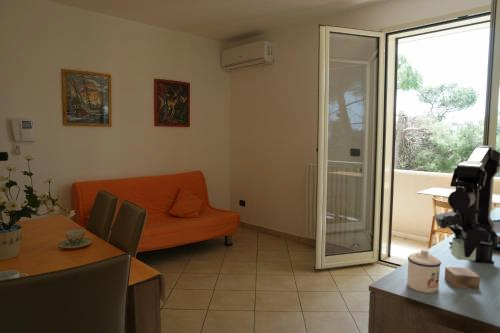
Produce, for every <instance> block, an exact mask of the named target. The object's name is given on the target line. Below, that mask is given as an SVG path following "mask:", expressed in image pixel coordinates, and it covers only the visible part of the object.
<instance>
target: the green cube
mask: <svg viewBox="0 0 500 333" xmlns="http://www.w3.org/2000/svg"><path fill="white" fill-rule="evenodd" d="M451 255H452V256H453V257H454V258H456V260H458V261H459V260H462V261H473V260H474V261H475V258H476V248H475V250H474V251H473V253H472V254H471V255H470V257H465V253H464V242H463V239H455V238H452V239H451ZM474 261H473V262H474Z"/></svg>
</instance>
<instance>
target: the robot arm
mask: <svg viewBox="0 0 500 333" xmlns="http://www.w3.org/2000/svg"><path fill="white" fill-rule="evenodd" d="M499 172H500V152H499V151H498V150H496V149H494V147H493V146H491V145H475V146H474V147H473V150H472V153H471V155H469V157H468V159H467V160H466V161H461V162H459V163H458V164H457V166H455V167H454V170H453V174H452V178H451V181H450V187H455V190H453V191H452V192H450V194H449V195H448V198H447V203H448V204H449V207H451V209H452V210H450V211H445V212H443V213H440V214H436V215H434V219H435V222H436V224H437V227H439V228H440V229H449V230H450V231H451V232H452V233H453V234H454V235H453V236H454V239H463V242H464V253H465V257H470V255H471V254H472V253H473V251H474V250H475V248H476V258H475V261H474V260H472V261H473V262H475V263H484V264H486V263H487V264H495V261H494V260H493V252H494V248H498V247H499V246H498V245H499V236H498V234H497V230H495V229H496V228H495V227H496V226H495V223H494V222H493V220H492V219H491V207H492V197H493V196H492V194H493V184H494V177H495V176H496V175H497V174H498V173H499Z"/></svg>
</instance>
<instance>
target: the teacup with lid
mask: <svg viewBox="0 0 500 333" xmlns="http://www.w3.org/2000/svg"><path fill="white" fill-rule="evenodd" d="M407 260H408V264H407V265H408V266H407V282H406V284H407V286H408V288H410V289H412V290H414V291H417V292H420V293H425V294H426V293H427V294H433V293H436V292H438V291H439V286H440V285H439V284H440V272H441V270H440V268H441V265H442V262H441V259H439V258H438V257H437V256H435V255H433V254H431V253H429V250H427V249H421V250H420V251H419V252H415V253H410V254H409V255H408V256H407Z"/></svg>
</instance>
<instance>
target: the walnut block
mask: <svg viewBox="0 0 500 333" xmlns="http://www.w3.org/2000/svg"><path fill="white" fill-rule="evenodd" d="M444 279H445V280H446V281H447V282H448V283H449V284H450V285H452V287H454V289H477V290H479V289H480V284H481V277H480V275H478V274H477V273H476V272H474V271H473V270H471V268H469V267H457V266H456V267H451V266H445V270H444Z"/></svg>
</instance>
